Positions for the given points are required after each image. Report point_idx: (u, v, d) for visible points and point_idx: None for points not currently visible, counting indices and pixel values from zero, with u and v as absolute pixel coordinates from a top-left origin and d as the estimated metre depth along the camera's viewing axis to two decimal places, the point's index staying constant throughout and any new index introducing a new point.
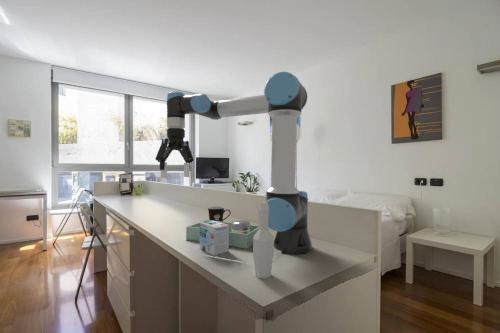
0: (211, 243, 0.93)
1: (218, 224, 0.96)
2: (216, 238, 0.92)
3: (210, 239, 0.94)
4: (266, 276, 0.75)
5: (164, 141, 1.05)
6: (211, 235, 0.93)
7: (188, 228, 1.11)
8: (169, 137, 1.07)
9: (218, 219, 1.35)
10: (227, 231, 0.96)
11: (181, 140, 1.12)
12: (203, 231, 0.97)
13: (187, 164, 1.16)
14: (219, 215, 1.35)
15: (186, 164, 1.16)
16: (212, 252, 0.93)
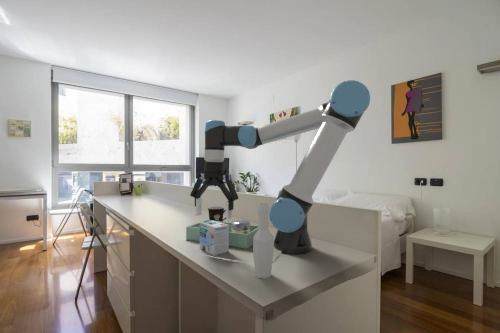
0: (211, 243, 0.93)
1: (218, 224, 0.96)
2: (216, 238, 0.92)
3: (210, 239, 0.94)
4: (266, 276, 0.75)
5: None
6: (211, 235, 0.93)
7: (188, 228, 1.11)
8: None
9: (218, 219, 1.35)
10: (227, 231, 0.96)
11: (217, 174, 0.96)
12: (203, 231, 0.97)
13: None
14: (219, 215, 1.35)
15: None
16: (212, 252, 0.93)
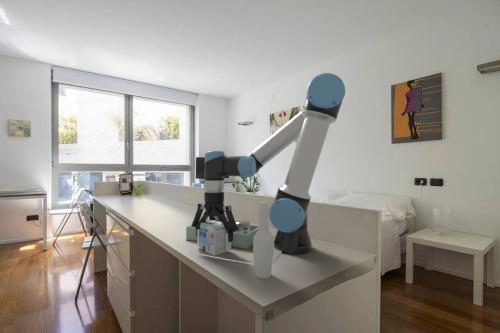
0: (211, 243, 0.93)
1: (218, 224, 0.96)
2: (216, 237, 0.92)
3: (210, 239, 0.94)
4: (266, 276, 0.75)
5: None
6: (211, 235, 0.93)
7: (188, 228, 1.11)
8: None
9: (218, 219, 1.35)
10: None
11: (217, 205, 0.96)
12: (203, 231, 0.97)
13: None
14: None
15: None
16: (212, 252, 0.93)
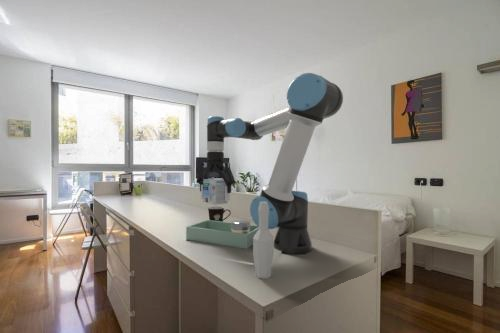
0: (213, 194, 1.10)
1: (219, 179, 1.13)
2: (216, 188, 1.09)
3: (212, 191, 1.11)
4: (266, 276, 0.75)
5: None
6: (213, 187, 1.10)
7: (188, 228, 1.11)
8: None
9: (218, 219, 1.35)
10: (226, 184, 1.13)
11: (218, 162, 1.13)
12: (206, 185, 1.14)
13: None
14: (219, 215, 1.35)
15: None
16: (213, 201, 1.10)
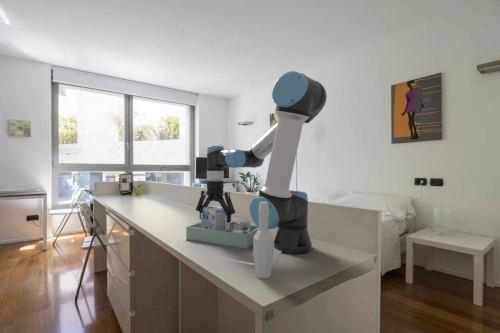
0: (212, 224, 1.10)
1: (218, 208, 1.13)
2: (216, 218, 1.09)
3: (212, 220, 1.11)
4: (266, 276, 0.75)
5: None
6: (213, 216, 1.10)
7: (188, 228, 1.11)
8: None
9: None
10: None
11: (218, 191, 1.13)
12: (205, 214, 1.14)
13: None
14: None
15: None
16: None
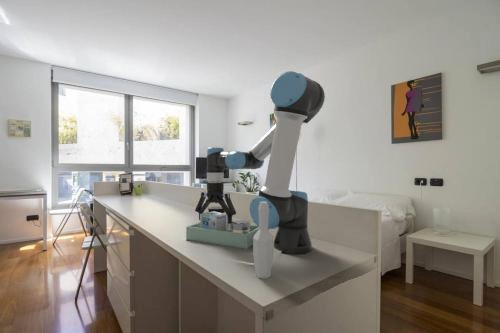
0: None
1: (219, 214, 1.13)
2: (217, 225, 1.09)
3: (212, 226, 1.11)
4: (266, 276, 0.75)
5: None
6: (213, 223, 1.10)
7: (188, 228, 1.11)
8: None
9: None
10: None
11: (218, 193, 1.13)
12: (205, 220, 1.14)
13: None
14: None
15: None
16: None
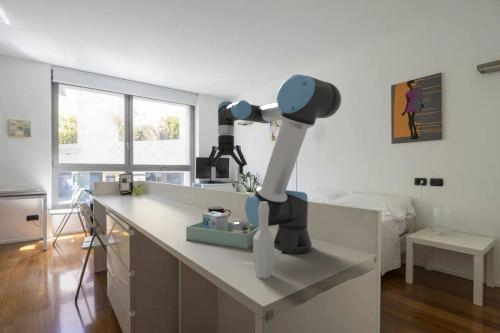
0: None
1: (219, 214, 1.13)
2: (217, 225, 1.09)
3: (212, 226, 1.11)
4: (266, 276, 0.75)
5: None
6: (213, 223, 1.10)
7: (188, 228, 1.11)
8: None
9: None
10: (226, 219, 1.13)
11: (229, 145, 1.18)
12: (205, 220, 1.14)
13: None
14: None
15: None
16: None
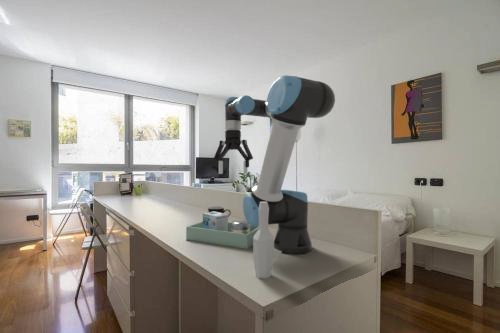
0: None
1: (219, 214, 1.13)
2: (217, 225, 1.09)
3: (212, 226, 1.11)
4: (266, 276, 0.75)
5: None
6: (213, 223, 1.10)
7: (188, 228, 1.11)
8: None
9: None
10: (226, 219, 1.13)
11: (236, 140, 1.21)
12: (205, 220, 1.14)
13: None
14: None
15: None
16: None
